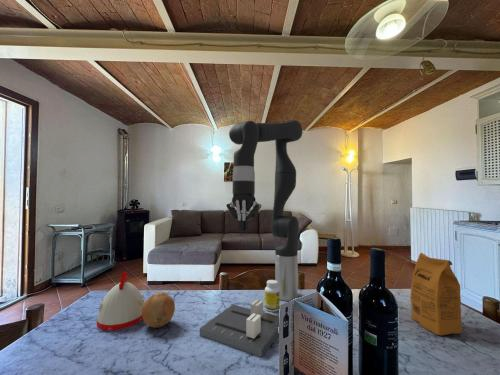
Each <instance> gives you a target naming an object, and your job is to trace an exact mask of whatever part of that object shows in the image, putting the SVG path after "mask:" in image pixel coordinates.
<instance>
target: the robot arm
mask: <svg viewBox="0 0 500 375" xmlns="http://www.w3.org/2000/svg"><path fill="white" fill-rule="evenodd" d="M228 132H229V133H228V136H229V139H230V141H231V142H232V143H234V145H235V144H236V145H241V146H240V148H238V149H237V150H235V151H234V153H233V170H232V198H231V201H230V202H229V203H227V204H226V207H227V209H228V211H229V212H230V214H231V216H232V217H233V219H234V220H235V219H236V220H237V221H238V230H239V232H240V233H247V231H248V230H249V221H250V220H253V219H254V218H255V216H256V215H257V214H258V212H259V211H260V209H261V208H262V204H261V203H258V202H257V201H256V197H255V193H256V192H255V190H256V182H255V179H256V176H255V175H256V173H255V154H256V150H257V147H258V144H259V143H265V142H271V141H275V169H274V170H275V171H274V194H273V195H274V197H273V208H272V215H271V226H270V227H271V229H270V230H271V233H272V234H271V235H273V237H275V238H282V239H286V243H284V244H281V245H279V246H275V248H274V249H275V251H274V253H275V254H274V258H275V261H274V262H275V264H274V265H275V267H274V270H275V273H274V276H275V277H274V278H275V279H274V280H276V281H277V282H278V286H277V287H278V288H279V291H280V292H279V301H280V300H281V301H285V302H287V301H288V302H292V301H291V300H293V299H295V298H297V299H298V297H299V286H298V284H299V282H298V279H299V277H298V275H299V274H298V273H299V271H298V269H299V265H298V264H299V263H298V262H299V261H298V258H299V256H298V252H299V251H298V250H299V235H300V227H299V224H300V223H299V220H298V218H297V217H296V216H295V215H294V216H293V215H284V209H285V205H286V204H287V201H288V200H289V199H290V197H291V195H292V194H293V192H294V190H295V188H296V186H297V170H296V167H295V165H294V163H293V162H292V159H291V158H290V156H289V154H288V150H287V149H288V148H287V146H288V145H287V144H288V143H292V142H296V141H298V140H300V139H301V138H302V135H303V126H302V124H301V123H300V122H299V121H298V120H296V119H292V120H287V121H284V122H281V123H278V122H277V123H276V122H273V123H272V122H255V121H253V120H247V121H242V122H239V123H237V124H234V125H232V126H231V127H230V129H229V131H228ZM293 301H294V300H293Z"/></svg>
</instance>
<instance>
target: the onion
mask: <svg viewBox="0 0 500 375" xmlns="http://www.w3.org/2000/svg"><path fill="white" fill-rule="evenodd" d="M175 311H176V303H175V301H174V298H173V297H172V296H171V295H169V294H168V293H166V292H164V291H163V292H157V293H156V292H155V293H154V294H153V293H152V294H151V295H150V296H149V297H147V299H146V300H144V305H143V308H142V318H143V319H142V320H143V322H144V324H145V325H146V326H148V327H151V328H153V329H154V328H162V327H164V326H166V324H168V323H169V322H170V321H171V320H172V318H173V317H174V315H175Z"/></svg>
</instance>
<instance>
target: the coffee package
mask: <svg viewBox="0 0 500 375" xmlns="http://www.w3.org/2000/svg"><path fill="white" fill-rule="evenodd" d="M452 265H453V263H452V261H451V260H450V259H449V260H448V259H441V258H434V257H430V256H428V255H426V254H425V253H423V252H420V253H419V255H418V258H417V260H416V262H415V267H414V269H413V273H412V277H411V287H410V303H411V307H410V308H411V320H413V321H414V322H417V323H419V325H420V326H421V327H422V328H423V329H425V330H427V331H429V332H431V333H433V334H435V335H438V336H445V335H450V334H454V335H455V334H460V333H463V327H462V308H461V306H462V305H461V304H462V299H461V298H462V297H461V284H460V283H459V280H458V279H457V276H456V274H455V273H454V271H453V270H452V267H451V266H452Z"/></svg>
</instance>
